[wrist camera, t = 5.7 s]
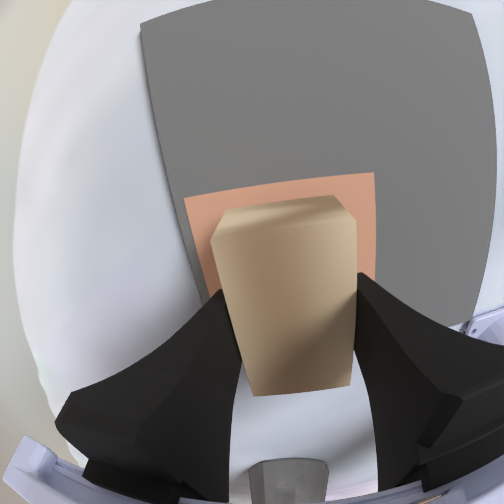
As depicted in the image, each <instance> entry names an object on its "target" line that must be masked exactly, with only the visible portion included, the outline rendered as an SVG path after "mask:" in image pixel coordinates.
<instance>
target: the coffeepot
mask: <svg viewBox="0 0 504 504" xmlns="http://www.w3.org/2000/svg"><path fill="white" fill-rule="evenodd" d="M328 476H329V470H328V467H327V464H326V463H325V462H323V461H320V460H316V459H309V458H282V459H273V460H268V461H264V462H260V463H258V464H256V465H254V466H253V468H252V469H250V470H249V480H250V489H251V499H252V504H306V503H317V502H325V496H326V490H327V483H328Z"/></svg>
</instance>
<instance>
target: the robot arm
mask: <svg viewBox="0 0 504 504" xmlns="http://www.w3.org/2000/svg"><path fill="white" fill-rule="evenodd" d="M354 351H355V354H356V357H357V360H358V363H359V366H360V369H361V372H362V375H363V378H364V381H365V384H366V388H367V392H368V396H369V401H370V407H371V413H372V419H373V426H374V434H375V442H376V453H377V468H378V492H377V493H372V494H368V495H363V496H358V497H352V498H347V499H340V500H334V501H326V502H317V503H306V504H418V503H421V502H424V501H427V500H430V499H432V498H435V497H437V496H440V495H441V496H440V497H439V498H436V499H434V500H432V501H430V502H427V503H425V504H504V308H501V309H498V310H495V311H492V312H489V313H486V314H483V315H480V316H477V317H474V318H473V319H471V321H470V322H469V324H468V327H467V330H466V333H465V334H462V333H460V332H457V331H455V330H453V329H450V328H448V327H446V326H443V325H441V324H439V323H437V322H435V321H433V320H432V319H430V318H428V317H426V316H424V315H422V314H421V313H419V312H417V311H416V310H414V309H412V308H411V307H409V306H408V305H406V304H405V303H403V302H402V301H400V300H399V299H397V298H396V297H395V296H393V295H392V294H391V293H389V292H388V291H386V290H385V289H384V288H382V287H381V286H380V285H379V284H377V283H376V282H375V281H373V280H372V279H371V278H370V277H368V276H367V275H366V274H364V273H363V272H360V273H357V300H356V322H355V338H354ZM241 363H242V357H241V353H240V350H239V346H238V343H237V340H236V336H235V333H234V329H233V326H232V322H231V318H230V315H229V311H228V308H227V304H226V300H225V297H224V293H223V289H219V290H218V291H217V292H216V293H215V294H214V295H213V296H212V297H211V298H210V299H209V300H208V301H207V302H206V303H205V304H204V306H203V307H202V308H201V309H200V310H199V311H198V312H197V313H196V314H195V315H194V316H193V317H192V318H191V319H190V320H189V321H188V322H187V323H186V324H185V325H184V326H183V327H182V328H181V329H179V330H178V331H177V332H176V333H175V334H174V335H173V336H172V337H171V338H170V339H168V340H167V341H166V342H165V343H163V344H162V345H161V346H159V347H158V348H157V349H156V350H154V351H153V352H151V353H150V354H149V355H147V356H145V357H144V358H142V359H141V360H139V361H138V362H136V363H134V364H133V365H131V366H130V367H128V368H126V369H124V370H122V371H121V372H119V373H117V374H115V375H113V376H111V377H109V378H107V379H105V380H102V381H100V382H98V383H95V384H93V385H90V386H87V387H85V388H82V389H79V390H76V391H73V392H71V394H70V395H69V397H68V399H67V400H66V402H65V404H64V406H63V407H62V409H61V411H60V413H59V415H58V416H57V418H56V420H55V425H56V428H57V430H58V431H59V433H60V434H61V435H62V436H63V437H64V438H65V439H66V440H67V441H68V442H69V443H71V444H72V445H73V446H74V447H75V448H76V449H78V450H79V451H80V452H81V453H82V454H84V455H85V456H86V457H87V458H89V460H88V462H87V465H86V467H85V469H84V468H81V467H79V466H77V465H74V464H72V463H70V462H68V461H66V460H63V459H61V458H59V457H57V455H56V454H55V453H54V452H53V451H51V450H50V449H49V448H47V447H46V446H45V445H43V444H42V443H40V442H38V441H36V440H34V439H33V438H31V437H29V436H27V435H24V436H23V438H22V440H21V442H20V444H19V446H18V448H17V449H16V451H15V453H14V455H13V457H12V459H11V461H10V463H9V465H8V467H7V469H6V471H5V474H4V476H3V478H2V479H3V481H4V482H6V483H7V484H8V485H9V486H10V487H11V488H12V489H14V490H15V491H16V492H17V493H18V494H19V495H21V496H22V497H23V498H24V499H25V500H27V501H28V502H29V503H30V504H230V503H228V502H229V455H230V437H231V423H232V411H233V404H234V398H235V393H236V388H237V383H238V378H239V373H240V368H241Z"/></svg>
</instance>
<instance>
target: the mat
mask: <svg viewBox="0 0 504 504" xmlns="http://www.w3.org/2000/svg"><path fill="white" fill-rule="evenodd" d="M140 28H141V36H142V44H143V51H144V58H145V64H146V71H147V77H148V83H149V89H150V95H151V100H152V106H153V111H154V116H155V121H156V126H157V131H158V136H159V141H160V146H161V150H162V155H163V159H164V164H165V168H166V172H167V177H168V181H169V185H170V189H171V193H172V197H173V201H174V205H175V209H176V213H177V217H178V221H179V224H180V228H181V232H182V235H183V239H184V243H185V246H186V250H187V253H188V257H189V260H190V264H191V267H192V270H193V274H194V277H195V280H196V284H197V287H198V290H199V293H200V296H201V300H202V303H203V306H204V304H205V303H206V302H207V301H208V300H209V299H210V298H211V297H212V296H213V295H214V294H215V293H216V292H217V291H218V290H219V289H222V285H221V282H220V278H219V274H218V270H217V266H216V262H215V258H214V254H213V251H212V247H211V243H210V240H211V238H212V236H213V234H214V232H215V230H216V228H217V226H218V224H219V222H220V220H221V218H222V217H223V215H224V213H225V211H226V209H232V208H238V207H245V206H251V205H258V204H265V203H272V202H279V201H286V200H293V199H301V198H309V197H317V196H325V195H334V196H335V197H336V198H337V199H338V200H339V201H340V203H341V204H342V205H343V206H344V207H345V208H346V210H347V211H348V212H349V213H350V214H351V215H352V217H353V218H354V219H355V220H356V231H357V273H360V272H363V273H364V274H366V275H367V276H368V277H370V278H371V279H372V280H373V281H375V282H376V283H377V284H379V285H380V286H381V287H382V288H384V289H385V290H386V291H388V292H389V293H391V294H392V295H393V296H395V297H396V298H397V299H399V300H400V301H402V302H403V303H405V304H406V305H408V306H409V307H411V308H412V309H414V310H416V311H417V312H419V313H421V314H422V315H424V316H426V317H428V318H430V319H432V320H433V321H435V322H437V323H439V324H441V325H443V326H446V327H449V326H453V325H456V324H460V323H463V322H467V321H470V320H471V319H472V316H473V313H474V310H475V306H476V303H477V299H478V296H479V292H480V288H481V284H482V280H483V276H484V272H485V267H486V262H487V257H488V252H489V246H490V240H491V234H492V227H493V219H494V209H495V197H496V178H497V147H496V128H495V116H494V107H493V99H492V93H491V86H490V81H489V75H488V70H487V66H486V61H485V57H484V53H483V49H482V45H481V41H480V38H479V35H478V31H477V28H476V25H475V22H474V19H473V16H472V14H471V13H468V12H465V11H462V10H459V9H456V8H453V7H450V6H447V5H443V4H440V3H436V2H432V1H428V0H213V1H209V2H205V3H201V4H197V5H193V6H190V7H186V8H183V9H180V10H177V11H174V12H171V13H168V14H165V15H162V16H159V17H156V18H154V19H151V20H148V21H146V22H143V23H141V24H140Z"/></svg>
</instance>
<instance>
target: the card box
mask: <svg viewBox="0 0 504 504" xmlns="http://www.w3.org/2000/svg"><path fill="white" fill-rule="evenodd" d="M210 243H211V247H212V251H213V254H214V258H215V262H216V266H217V270H218V274H219V278H220V282H221V285H222V289H223V293H224V297H225V300H226V304H227V308H228V311H229V315H230V318H231V322H232V326H233V329H234V333H235V336H236V340H237V343H238V346H239V350H240V353H241V357H242V360H243V363H244V367H245V370H246V373H247V377H248V380H249V383H250V387H251V390H252V393H253V396H267V395H281V394H292V393H301V392H310V391H318V390H325V389H332V388H338V387H344V386H350V380H351V372H352V362H353V351H354V338H355V322H356V300H357V231H356V220H355V219H354V218H353V217H352V215H351V214H350V213H349V212H348V211H347V210H346V208H345V207H344V206H343V205H342V204H341V203H340V201H339V200H338V199H337V198H336V197H335V196H334V195H325V196H317V197H309V198H301V199H293V200H286V201H279V202H272V203H265V204H258V205H251V206H245V207H238V208H232V209H226V211H225V213H224V215H223V217H222V218H221V220H220V222H219V224H218V226H217V228H216V230H215V232H214V234H213V236H212V238H211V240H210Z"/></svg>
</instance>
